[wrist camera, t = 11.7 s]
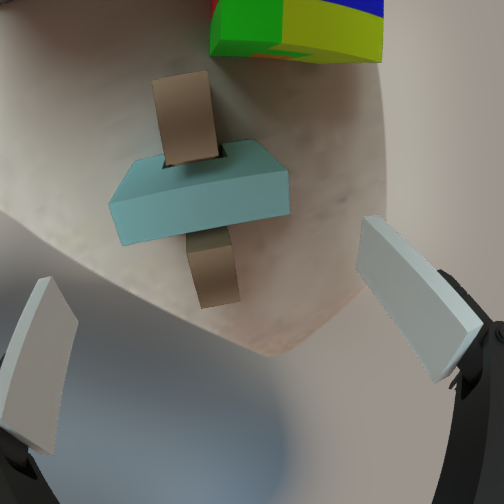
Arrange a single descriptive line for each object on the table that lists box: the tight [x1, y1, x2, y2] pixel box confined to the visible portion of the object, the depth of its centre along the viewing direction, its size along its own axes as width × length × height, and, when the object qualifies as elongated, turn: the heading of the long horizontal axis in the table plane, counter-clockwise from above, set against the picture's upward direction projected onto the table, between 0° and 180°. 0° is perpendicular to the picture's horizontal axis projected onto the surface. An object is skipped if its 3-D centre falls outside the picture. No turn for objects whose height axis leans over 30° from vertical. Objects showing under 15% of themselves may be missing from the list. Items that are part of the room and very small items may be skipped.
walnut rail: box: [151, 70, 240, 309], centre depth 22 cm, size 16×3×10 cm, turn 5°
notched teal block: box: [108, 139, 290, 246], centre depth 22 cm, size 11×3×10 cm, turn 95°
